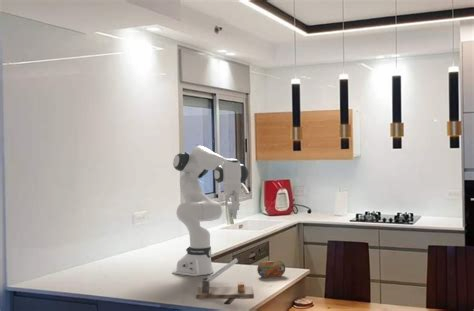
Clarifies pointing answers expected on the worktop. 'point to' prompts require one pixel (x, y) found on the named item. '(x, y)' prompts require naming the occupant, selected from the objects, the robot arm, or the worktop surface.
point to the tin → (271, 269)
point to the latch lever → (222, 270)
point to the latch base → (223, 291)
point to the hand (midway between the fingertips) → (233, 217)
